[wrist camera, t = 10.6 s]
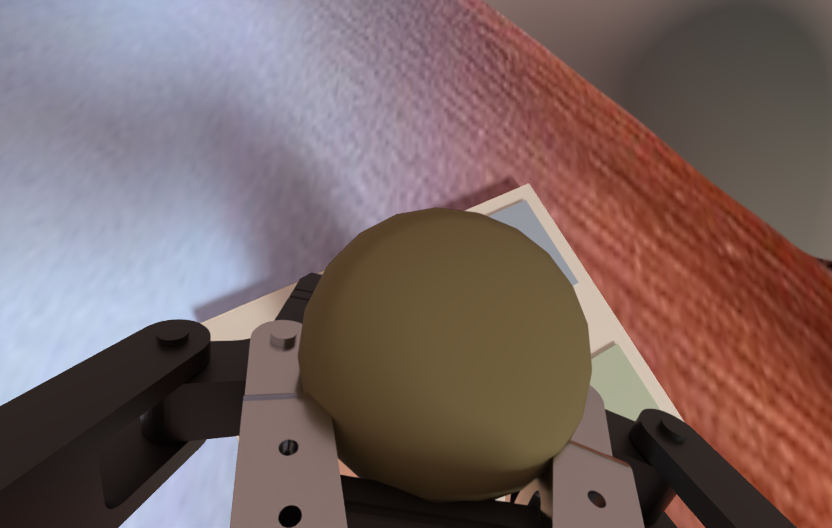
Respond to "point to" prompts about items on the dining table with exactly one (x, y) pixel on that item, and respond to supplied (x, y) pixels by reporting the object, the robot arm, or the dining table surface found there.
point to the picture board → (609, 343)
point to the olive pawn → (446, 355)
